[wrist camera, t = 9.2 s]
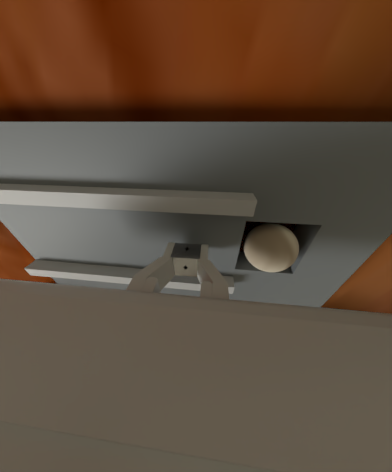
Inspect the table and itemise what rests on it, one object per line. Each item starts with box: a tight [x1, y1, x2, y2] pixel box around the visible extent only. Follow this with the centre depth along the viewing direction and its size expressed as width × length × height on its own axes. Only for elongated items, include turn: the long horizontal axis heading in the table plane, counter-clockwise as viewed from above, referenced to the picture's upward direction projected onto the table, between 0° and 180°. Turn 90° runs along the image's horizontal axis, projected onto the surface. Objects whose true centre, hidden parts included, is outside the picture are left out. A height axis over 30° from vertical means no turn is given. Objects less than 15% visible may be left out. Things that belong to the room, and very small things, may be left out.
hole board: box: [0, 122, 392, 307], centre depth 13 cm, size 16×30×4 cm, turn 90°
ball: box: [244, 223, 299, 272], centre depth 12 cm, size 4×4×4 cm
